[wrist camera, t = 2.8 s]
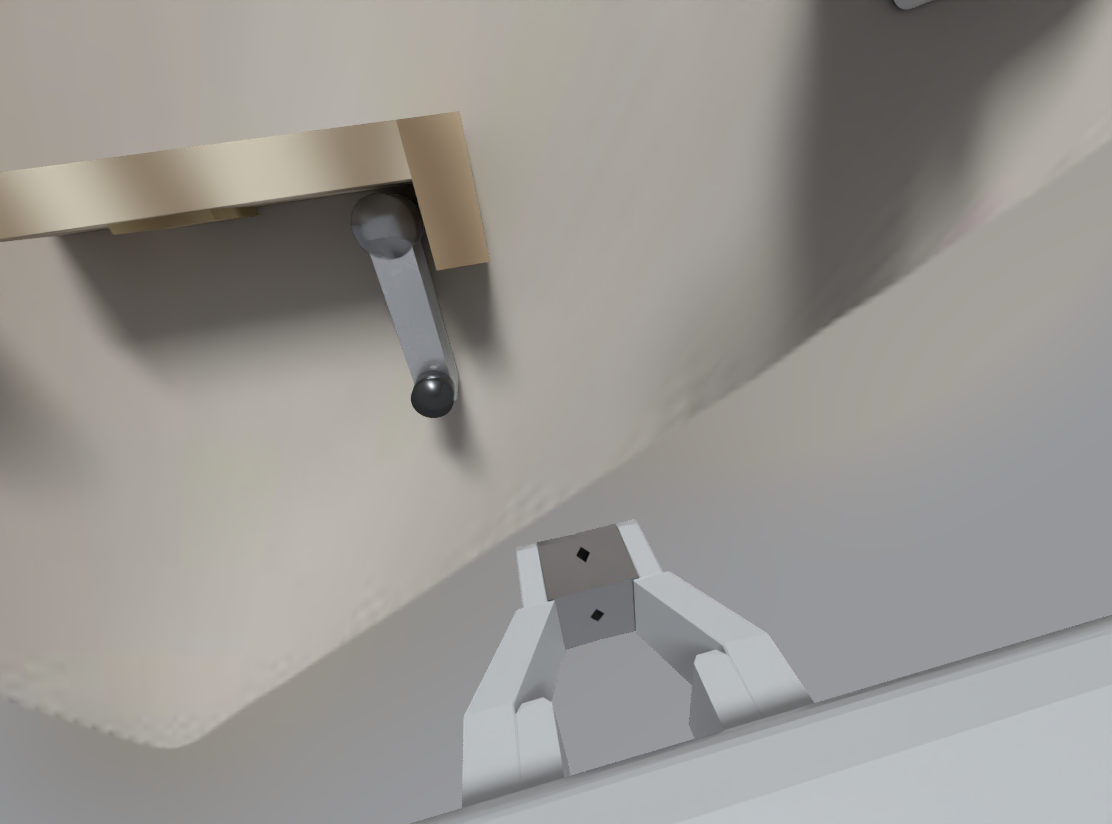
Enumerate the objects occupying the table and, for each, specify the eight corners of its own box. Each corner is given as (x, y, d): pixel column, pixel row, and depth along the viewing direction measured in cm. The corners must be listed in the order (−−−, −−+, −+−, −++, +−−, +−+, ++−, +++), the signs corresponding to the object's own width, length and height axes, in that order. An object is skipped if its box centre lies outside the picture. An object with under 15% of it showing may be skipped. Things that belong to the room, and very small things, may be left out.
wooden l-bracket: (462, 130, 21) (459, 111, 16) (486, 247, 23) (490, 261, 19) (26, 189, 19) (-126, 189, 14) (110, 309, 22) (7, 342, 17)
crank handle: (360, 197, 21) (330, 199, 16) (414, 189, 21) (399, 189, 17) (422, 384, 26) (412, 422, 22) (465, 376, 26) (463, 412, 22)
